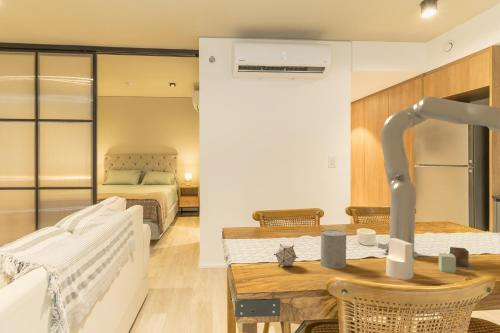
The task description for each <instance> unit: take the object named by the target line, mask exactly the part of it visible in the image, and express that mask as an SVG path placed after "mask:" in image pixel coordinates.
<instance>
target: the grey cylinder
mask: <svg viewBox="0 0 500 333" xmlns="http://www.w3.org/2000/svg"><path fill="white" fill-rule="evenodd" d="M347 234H348V233H347V232H345V231H343V230H334V229H327V230H326V229H325V230H322V231H320V266H322V267H323V268H326V269H332V270H340V269H344V268H346V267H347Z"/></svg>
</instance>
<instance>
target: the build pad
mask: <svg viewBox="0 0 500 333" xmlns="http://www.w3.org/2000/svg"><path fill="white" fill-rule="evenodd" d="M456 269H460V270H461V269H462V270H474V271H476V270H477V269H476V268H475V267H474V266H473V265H472V264H471V263H469V262H468V267H456Z"/></svg>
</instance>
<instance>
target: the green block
mask: <svg viewBox="0 0 500 333" xmlns="http://www.w3.org/2000/svg"><path fill="white" fill-rule="evenodd" d="M437 267H438V270H439V271H440V272H441V273H452V274H456V270H457V268H456V257H455V256H454V255H453V254H450V253H447V252H446V253H445V252H438V266H437Z"/></svg>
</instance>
